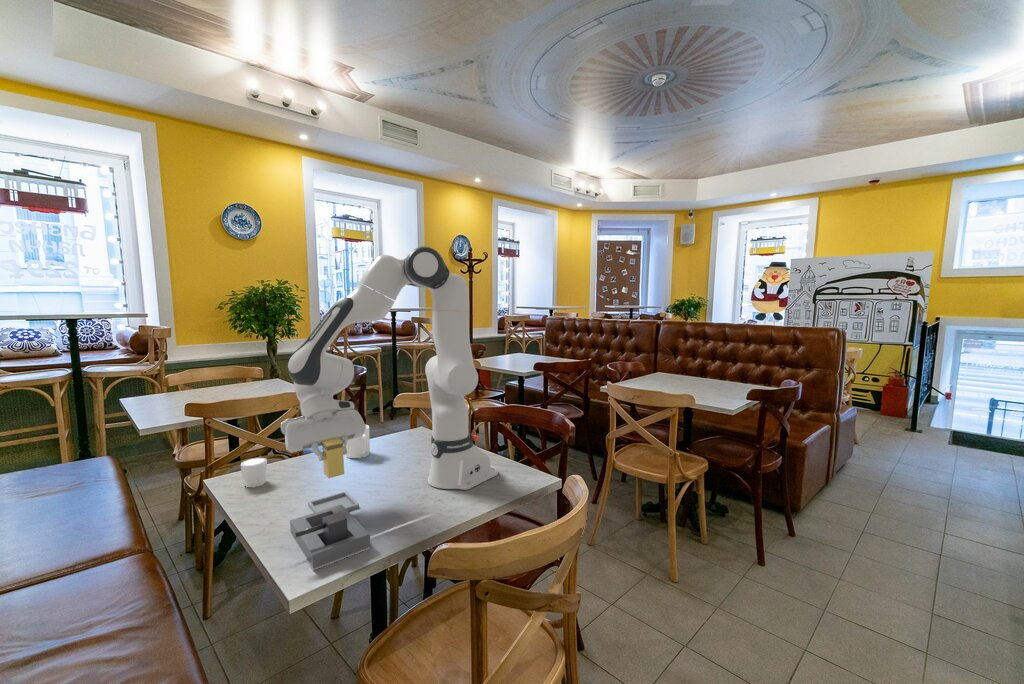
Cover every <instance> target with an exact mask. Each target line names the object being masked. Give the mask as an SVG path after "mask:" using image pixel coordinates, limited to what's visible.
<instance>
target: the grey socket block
mask: <svg viewBox="0 0 1024 684" xmlns="http://www.w3.org/2000/svg"><path fill="white" fill-rule="evenodd" d="M289 525H290V526H289V528H290V534H291V536H292V537H293V538H294V541H295V542H296V544H297V545H298V547H299V549H300V550H301V552H302V553H303V555H304V557H305V558H306V562H307V561H308V562H307V564H308V565H309V566H310V568H311V569H313V570H314V571H316V570H315V569H317V570H319V569H318V568H320V569H321V567H322V568H324V567H323V566H325V567H327V566H330V565H332V564H334V562H335V563H337V562H336V561H338V562H340V561H342V560H341V559H343V560H345V559H347V558H346V557H348V556H350V557H352V556H351V555H353V556H355V555H358V554H360V553H359V552H361V553H363V552H366V551H368V550H370V549H371V536H370V535H371V534H370V533H369V531H368V530H366V528H365V527H364V526H362V524H361V523H360V522H359V521H358V520H357V519H356V518H355V517H354V516H353V515H352V513H350V511H347V510H346V509H345V508H344V507H343V505H338V506H335V507H332V508H328V509H325V510H322V511H319V512H315V513H314V512H313V513H309V514H306V515H302V516H299V517H296V518H293V519H290V520H289ZM365 550H366V551H365ZM362 551H363V552H362ZM357 553H358V554H357ZM354 554H355V555H354ZM344 558H345V559H344ZM348 558H349V557H348ZM339 560H340V561H339ZM329 564H330V565H329ZM326 565H327V566H326ZM313 570H312V571H313Z"/></svg>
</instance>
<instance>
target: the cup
mask: <svg viewBox="0 0 1024 684" xmlns="http://www.w3.org/2000/svg"><path fill="white" fill-rule="evenodd" d="M365 427H366V430H365V432H364V434H363V436H362V437H358V438H354V439H350V440H348V442H347V445H346V448H347V455H345V457H346V456H347V457H348V459H350V458H359V459H362V458H361V457H363V458H365V456H366V457H368V456H369V455H370V451H371V450H370V447H371V445H370V443H371V442H370V441H371V440H370V439H371V438H370V426H369V425H368V424H365ZM367 455H368V456H367ZM347 457H346V458H347Z"/></svg>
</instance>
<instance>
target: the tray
mask: <svg viewBox="0 0 1024 684" xmlns="http://www.w3.org/2000/svg"><path fill="white" fill-rule="evenodd" d="M338 505H343V507H344V508H345V509H346V510H347V511H348V512H350V511H353V510H357V509H359V508H360V504H359V503H358V502H357V500H355V498H354V497H352V496H351V495H350V494H349V493H348V492H347V491H346V490H344V491H341V492H338V493H334V494H332V495H328V496H325V497H321V498H318V499H314V500H310V501H308V502H307V506H308V507H309V509H310V510H311V511H312V512H313V513H315V512H319V511H322V510H325V509H328V508H332V507H335V506H338Z"/></svg>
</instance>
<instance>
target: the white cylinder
mask: <svg viewBox="0 0 1024 684" xmlns="http://www.w3.org/2000/svg"><path fill="white" fill-rule="evenodd" d="M267 464H268V459H267V458H266V457H252V458H249V459H246V460H243V461H242V462H241V463H240V471H241V475H242V480H243V481H242V482H243V486H244V487H245V486H246V487H245V488H247V487H253V488H257V487H256V486H258V487H261V486H263V485H265V484H266V482H267V470H268V469H267V467H268V465H267ZM264 483H265V484H264ZM260 485H261V486H260Z"/></svg>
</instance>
